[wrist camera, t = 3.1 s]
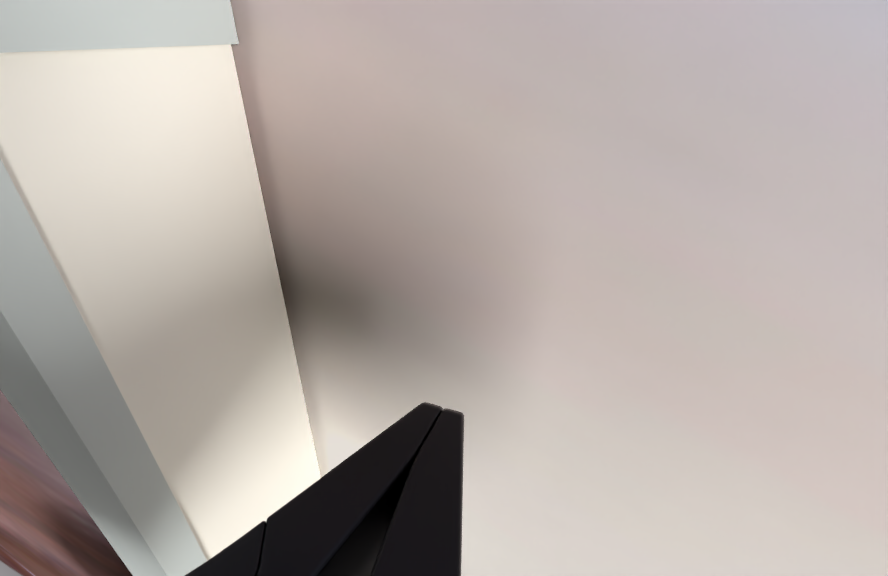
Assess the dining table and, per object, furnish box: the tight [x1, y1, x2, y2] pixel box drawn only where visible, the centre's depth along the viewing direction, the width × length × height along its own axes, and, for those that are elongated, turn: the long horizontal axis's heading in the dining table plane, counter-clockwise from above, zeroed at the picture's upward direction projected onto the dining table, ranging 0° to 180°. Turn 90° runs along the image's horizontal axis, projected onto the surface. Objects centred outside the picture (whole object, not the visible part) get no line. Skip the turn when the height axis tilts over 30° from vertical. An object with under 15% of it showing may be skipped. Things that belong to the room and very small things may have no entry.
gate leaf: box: [0, 0, 321, 576], centre depth 10 cm, size 17×2×5 cm, turn 179°
